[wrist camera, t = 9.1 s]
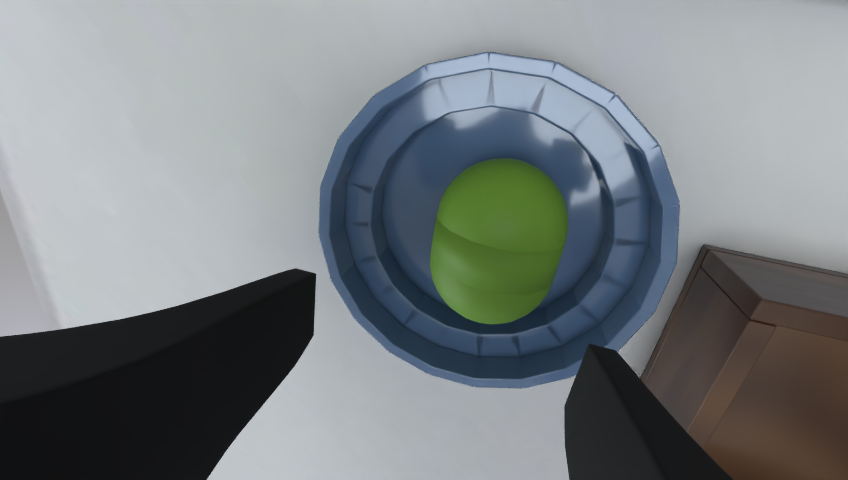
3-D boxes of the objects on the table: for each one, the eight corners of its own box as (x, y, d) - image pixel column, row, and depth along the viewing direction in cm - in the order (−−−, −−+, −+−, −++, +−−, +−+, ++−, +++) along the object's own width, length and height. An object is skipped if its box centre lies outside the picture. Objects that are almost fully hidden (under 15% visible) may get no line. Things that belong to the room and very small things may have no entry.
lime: (522, 289, 19) (552, 358, 14) (422, 277, 19) (421, 343, 14) (560, 155, 16) (611, 189, 12) (444, 138, 16) (452, 167, 12)
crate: (883, 554, 20) (977, 679, 16) (598, 469, 22) (614, 558, 18) (1114, 328, 14) (1352, 429, 10) (703, 244, 16) (762, 298, 12)
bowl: (592, 368, 20) (605, 424, 16) (344, 304, 22) (313, 342, 18) (703, 87, 14) (754, 89, 11) (364, 37, 16) (325, 27, 13)
